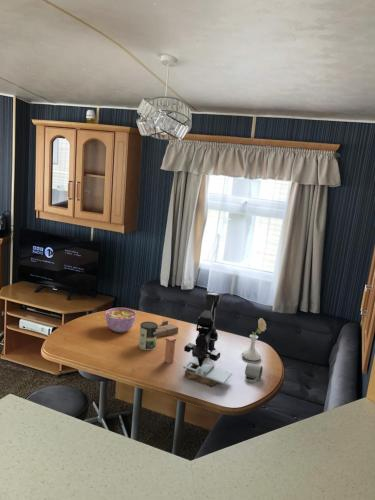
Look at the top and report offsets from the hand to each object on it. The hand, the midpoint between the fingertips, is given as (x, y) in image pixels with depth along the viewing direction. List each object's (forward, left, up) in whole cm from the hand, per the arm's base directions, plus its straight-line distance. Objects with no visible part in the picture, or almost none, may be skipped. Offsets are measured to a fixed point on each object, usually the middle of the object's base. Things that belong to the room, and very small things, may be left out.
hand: (200, 366), depth 210 cm
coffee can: (+10, -41, -6) cm, 43 cm away
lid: (-2, +3, -2) cm, 4 cm away
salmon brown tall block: (+8, -20, -6) cm, 22 cm away
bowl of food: (+17, -69, -6) cm, 71 cm away
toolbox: (-1, +2, -6) cm, 6 cm away
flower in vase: (-41, -5, -6) cm, 42 cm away
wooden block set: (-8, -59, -6) cm, 59 cm away
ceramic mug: (-25, +14, -6) cm, 29 cm away
